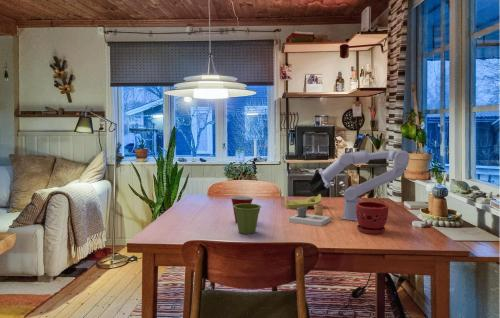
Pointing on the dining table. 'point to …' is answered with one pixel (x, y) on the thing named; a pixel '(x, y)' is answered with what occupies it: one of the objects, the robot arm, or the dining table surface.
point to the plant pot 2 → (371, 217)
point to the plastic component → (303, 202)
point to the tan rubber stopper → (318, 209)
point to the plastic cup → (240, 202)
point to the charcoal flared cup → (302, 212)
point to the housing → (310, 220)
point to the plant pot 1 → (247, 217)
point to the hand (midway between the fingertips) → (311, 188)
